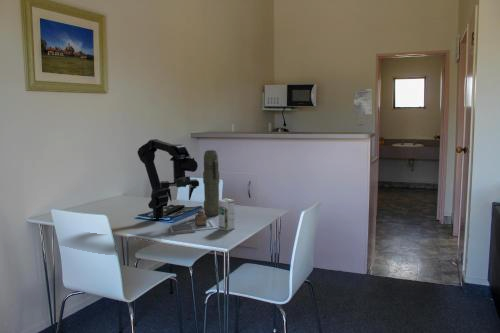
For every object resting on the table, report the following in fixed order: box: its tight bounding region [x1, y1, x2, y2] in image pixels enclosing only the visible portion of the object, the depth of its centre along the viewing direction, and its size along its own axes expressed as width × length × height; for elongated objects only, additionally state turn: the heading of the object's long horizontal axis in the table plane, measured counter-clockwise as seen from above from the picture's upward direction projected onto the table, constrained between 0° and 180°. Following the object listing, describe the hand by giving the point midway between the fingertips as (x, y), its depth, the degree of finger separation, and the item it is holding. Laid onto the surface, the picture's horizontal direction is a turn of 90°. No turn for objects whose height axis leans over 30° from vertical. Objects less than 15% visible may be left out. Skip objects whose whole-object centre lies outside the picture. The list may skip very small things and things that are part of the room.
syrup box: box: [218, 198, 236, 232], centre depth 214 cm, size 6×6×14 cm
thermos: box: [202, 149, 221, 217], centre depth 241 cm, size 9×12×35 cm
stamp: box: [195, 209, 207, 227], centre depth 220 cm, size 5×5×8 cm
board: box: [184, 219, 219, 232], centre depth 221 cm, size 14×14×1 cm
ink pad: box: [168, 223, 196, 235], centre depth 214 cm, size 11×11×2 cm
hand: (180, 200), depth 223 cm, fingers open, 9 cm apart
